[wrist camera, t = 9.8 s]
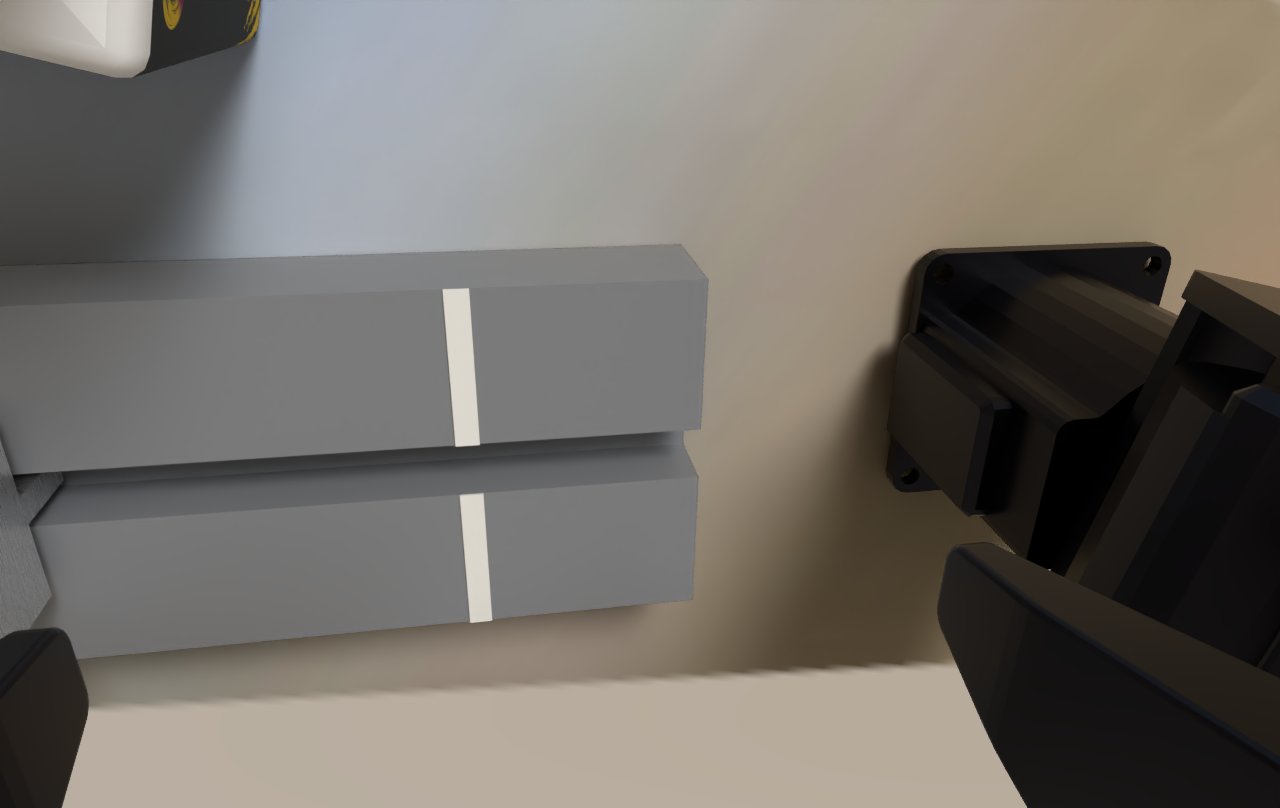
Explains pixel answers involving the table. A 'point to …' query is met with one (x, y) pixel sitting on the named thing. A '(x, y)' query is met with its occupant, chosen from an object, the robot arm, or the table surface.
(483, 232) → the table surface
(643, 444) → the slider console
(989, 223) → the table surface
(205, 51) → the medicine bottle
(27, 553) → the fader tab
